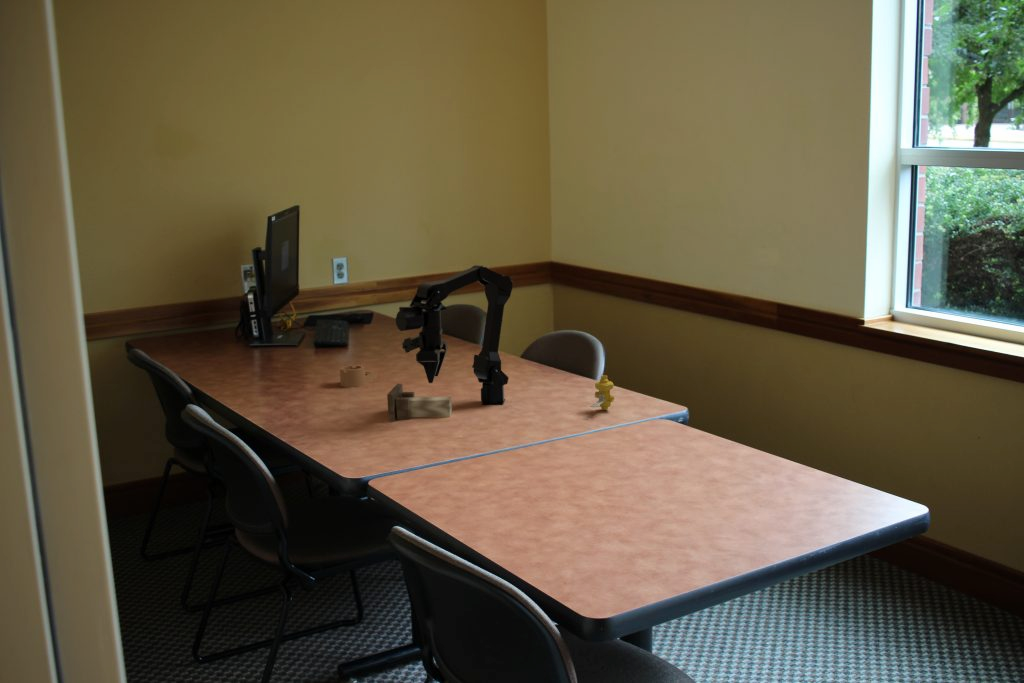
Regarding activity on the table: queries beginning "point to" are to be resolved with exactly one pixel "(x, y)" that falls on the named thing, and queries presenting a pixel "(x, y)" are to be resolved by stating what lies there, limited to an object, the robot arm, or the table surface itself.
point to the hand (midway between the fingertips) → (433, 379)
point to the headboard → (398, 404)
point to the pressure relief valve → (603, 393)
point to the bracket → (356, 376)
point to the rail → (430, 406)
